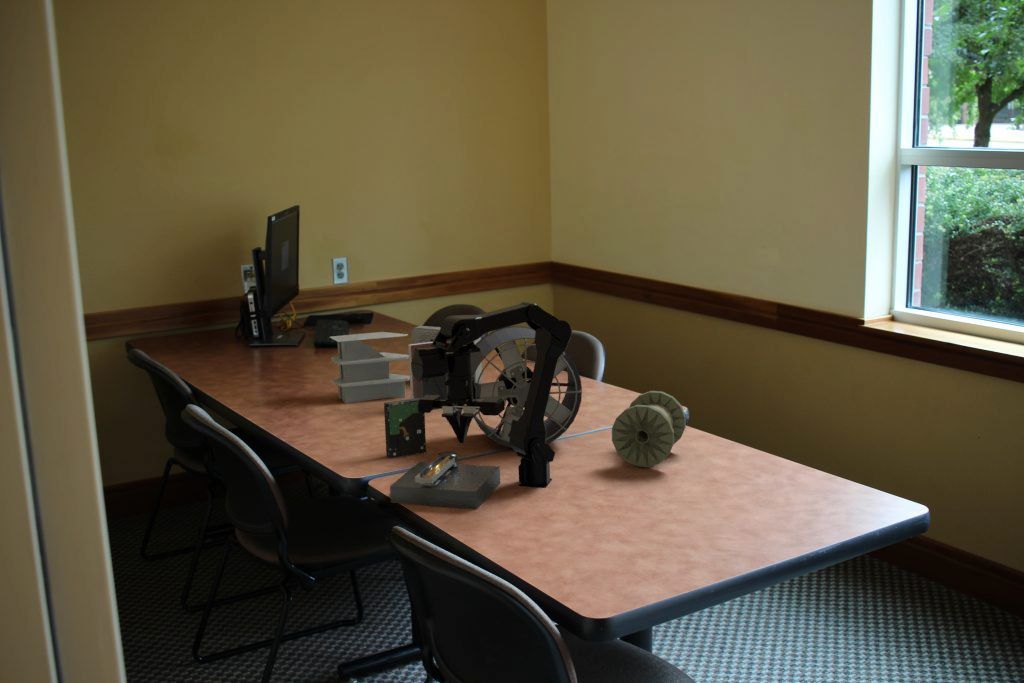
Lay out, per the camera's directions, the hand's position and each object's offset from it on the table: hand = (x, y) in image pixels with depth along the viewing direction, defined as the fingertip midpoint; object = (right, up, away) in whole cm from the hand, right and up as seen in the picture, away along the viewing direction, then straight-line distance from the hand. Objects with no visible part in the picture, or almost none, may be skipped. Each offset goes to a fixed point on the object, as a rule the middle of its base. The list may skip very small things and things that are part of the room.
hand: (462, 442), depth 220 cm
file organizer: (-33, +2, +94) cm, 99 cm away
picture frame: (-11, +1, +80) cm, 81 cm away
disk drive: (-16, -7, +36) cm, 40 cm away
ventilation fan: (+14, -5, +46) cm, 48 cm away
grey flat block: (-4, -12, +7) cm, 14 cm away
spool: (+46, -7, +29) cm, 55 cm away
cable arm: (-6, -8, +6) cm, 12 cm away
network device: (-10, +7, +112) cm, 113 cm away
